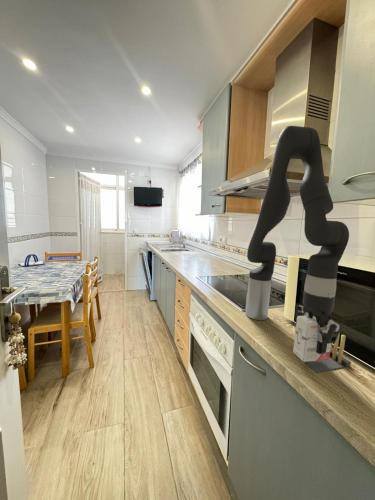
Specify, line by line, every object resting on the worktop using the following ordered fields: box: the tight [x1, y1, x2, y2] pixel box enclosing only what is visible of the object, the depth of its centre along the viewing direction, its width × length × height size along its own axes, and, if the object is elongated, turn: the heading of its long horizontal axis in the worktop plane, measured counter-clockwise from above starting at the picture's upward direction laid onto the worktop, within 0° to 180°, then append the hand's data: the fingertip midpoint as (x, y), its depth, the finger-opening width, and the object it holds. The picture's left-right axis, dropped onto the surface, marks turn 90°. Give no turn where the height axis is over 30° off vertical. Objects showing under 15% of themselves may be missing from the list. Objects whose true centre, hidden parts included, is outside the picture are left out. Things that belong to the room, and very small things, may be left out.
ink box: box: [292, 316, 331, 363], centre depth 61 cm, size 9×5×12 cm, turn 99°
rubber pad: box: [297, 356, 344, 373], centre depth 63 cm, size 7×10×1 cm
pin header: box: [329, 333, 352, 368], centre depth 64 cm, size 7×3×9 cm, turn 15°
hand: (312, 347), depth 61 cm, fingers closed on ink box, 5 cm apart
